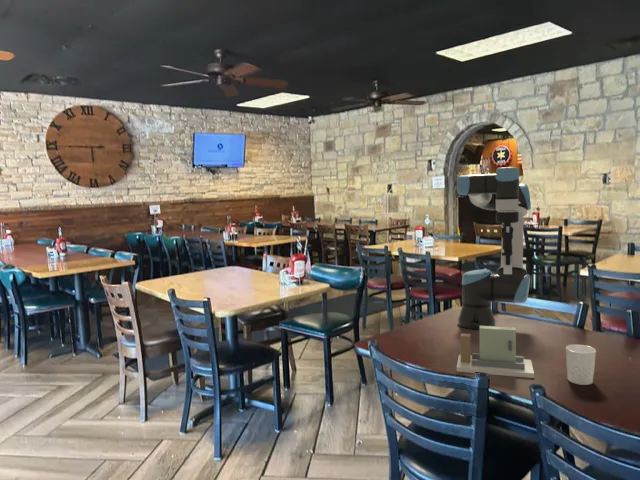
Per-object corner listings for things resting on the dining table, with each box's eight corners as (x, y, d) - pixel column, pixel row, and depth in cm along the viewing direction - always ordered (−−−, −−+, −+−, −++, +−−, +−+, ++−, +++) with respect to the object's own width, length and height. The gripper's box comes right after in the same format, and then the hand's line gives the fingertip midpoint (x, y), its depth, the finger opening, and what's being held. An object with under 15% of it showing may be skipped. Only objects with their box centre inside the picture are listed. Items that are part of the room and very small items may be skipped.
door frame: (456, 371, 157) (456, 340, 156) (458, 358, 168) (458, 329, 167) (534, 378, 150) (534, 345, 148) (530, 364, 161) (531, 333, 160)
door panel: (479, 364, 158) (479, 329, 157) (479, 360, 162) (479, 325, 160) (515, 367, 154) (516, 331, 153) (515, 363, 158) (515, 327, 157)
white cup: (594, 388, 141) (595, 354, 140) (564, 383, 145) (564, 350, 144) (595, 378, 148) (596, 346, 146) (566, 374, 152) (567, 343, 151)
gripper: (520, 213, 158) (520, 277, 161) (516, 208, 182) (516, 264, 184) (496, 213, 161) (496, 276, 163) (495, 209, 184) (495, 264, 187)
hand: (507, 270), depth 174 cm, fingers open, 13 cm apart
